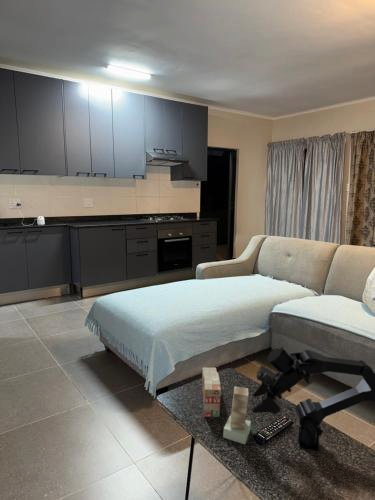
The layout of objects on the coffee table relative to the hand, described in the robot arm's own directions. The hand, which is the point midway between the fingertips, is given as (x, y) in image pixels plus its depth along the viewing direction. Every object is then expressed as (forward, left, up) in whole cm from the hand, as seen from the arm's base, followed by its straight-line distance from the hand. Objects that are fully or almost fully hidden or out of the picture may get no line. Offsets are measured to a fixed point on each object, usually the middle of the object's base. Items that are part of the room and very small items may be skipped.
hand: (253, 403), depth 123 cm
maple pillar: (+5, +1, -9) cm, 11 cm away
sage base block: (+5, +1, -13) cm, 14 cm away
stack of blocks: (+19, -16, -13) cm, 28 cm away
